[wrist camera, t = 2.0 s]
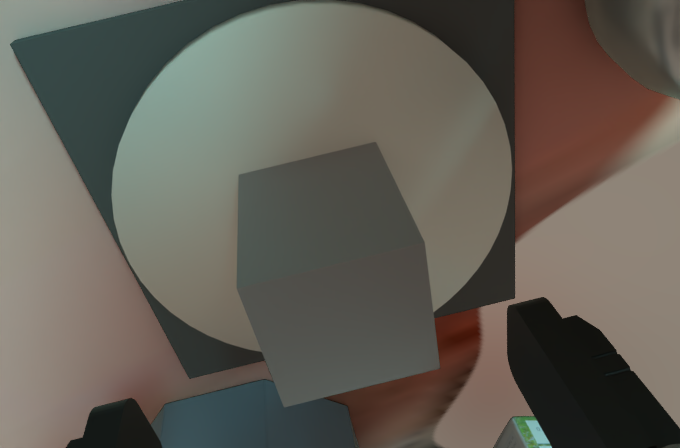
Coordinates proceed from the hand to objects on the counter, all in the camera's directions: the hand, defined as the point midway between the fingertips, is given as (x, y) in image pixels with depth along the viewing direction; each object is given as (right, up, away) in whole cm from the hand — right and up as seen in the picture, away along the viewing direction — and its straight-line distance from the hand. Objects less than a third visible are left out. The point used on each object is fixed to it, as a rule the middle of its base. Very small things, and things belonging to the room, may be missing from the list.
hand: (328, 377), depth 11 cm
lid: (0, +4, +6) cm, 7 cm away
